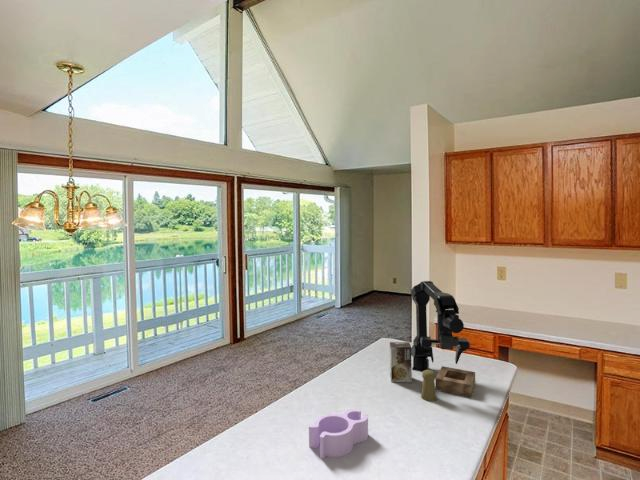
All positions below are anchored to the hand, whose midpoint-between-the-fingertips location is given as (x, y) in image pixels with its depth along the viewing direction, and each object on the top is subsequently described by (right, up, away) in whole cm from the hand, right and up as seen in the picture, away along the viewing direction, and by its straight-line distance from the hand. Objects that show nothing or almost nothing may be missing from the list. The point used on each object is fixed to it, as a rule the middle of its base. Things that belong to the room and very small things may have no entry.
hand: (444, 363), depth 152 cm
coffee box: (-15, -12, +14) cm, 24 cm away
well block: (+7, -12, +7) cm, 16 cm away
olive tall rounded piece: (-7, -13, -3) cm, 15 cm away
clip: (-45, -16, -31) cm, 56 cm away
